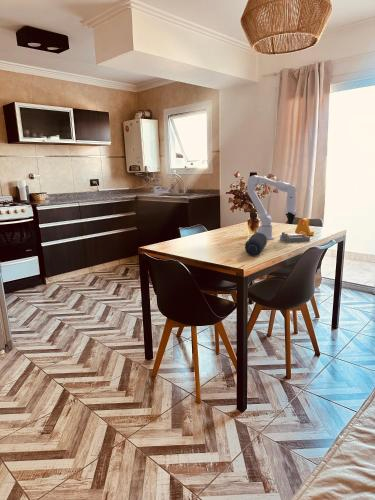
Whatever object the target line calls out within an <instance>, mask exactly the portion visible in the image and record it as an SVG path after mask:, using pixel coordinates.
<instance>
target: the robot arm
mask: <svg viewBox="0 0 375 500" xmlns="http://www.w3.org/2000/svg"><path fill="white" fill-rule="evenodd" d="M246 182H247V183H246V185H247V187H246V192H247V194H248V196H249V198H250V200H251V202H252V203H253V205H254V207H255V209H256V211H257V213H258V215H259V218H260V220H261V221H260V223H261V225H260V226H258V227H257V232H256V233H262V234H264V235H265V236H266V238H267V240H274V239H275V238H274V237H273V224H272V222H273V217H272V216H271V215H270V214H269V212H268V211H266V208H265V206H264V205H263V203H262V201H261V199H260V198H259V196H258V194H257V191H256V188H257V186H258V184H267V185H270V186H273V187H275V189H276V190H278V191H282V192H284V193H286V208H285V210H284V212H286V213H285V216H286V218H287V223H288V224H289V225H293V222H294V219H295V217H296V215H298V214H297V213H298V209H296V207H297V206H296V203H297V201H296V200H297V199H296V198H297V196H296V195H297V194H296V192H297V187H296V185H294V184H291V183H288V182H284V180H278V181H275V180H273V179H270V178H267V177H265V176H261V175H258V174H254V175H251V176H249V178H248V179H247V181H246Z"/></svg>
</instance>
